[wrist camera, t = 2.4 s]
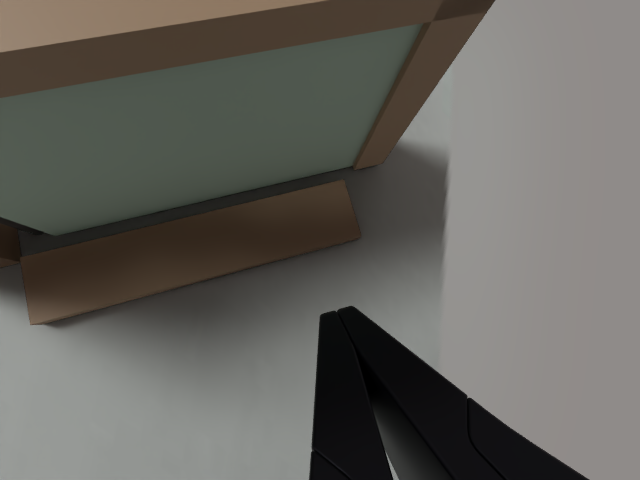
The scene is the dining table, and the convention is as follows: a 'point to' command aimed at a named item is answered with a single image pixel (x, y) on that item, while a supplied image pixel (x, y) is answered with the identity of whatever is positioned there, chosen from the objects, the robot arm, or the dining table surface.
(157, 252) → the gate frame
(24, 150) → the board
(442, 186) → the dining table surface
